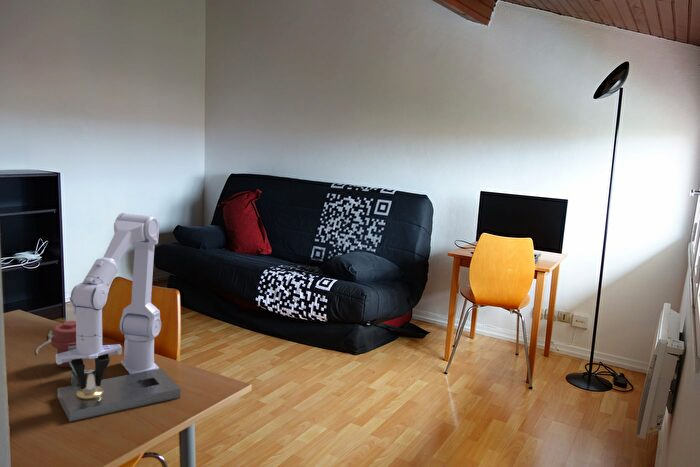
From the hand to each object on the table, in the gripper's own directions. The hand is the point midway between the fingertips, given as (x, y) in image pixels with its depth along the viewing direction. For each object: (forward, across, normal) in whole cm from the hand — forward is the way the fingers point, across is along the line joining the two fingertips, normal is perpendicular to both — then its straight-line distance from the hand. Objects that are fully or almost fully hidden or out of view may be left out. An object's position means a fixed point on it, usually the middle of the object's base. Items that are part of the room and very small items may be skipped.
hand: (89, 386), depth 144 cm
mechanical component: (+5, +1, +26) cm, 26 cm away
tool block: (+5, +7, +3) cm, 9 cm away
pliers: (+5, -1, +46) cm, 46 cm away
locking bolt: (+1, 0, +12) cm, 12 cm away
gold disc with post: (+5, 0, 0) cm, 5 cm away
